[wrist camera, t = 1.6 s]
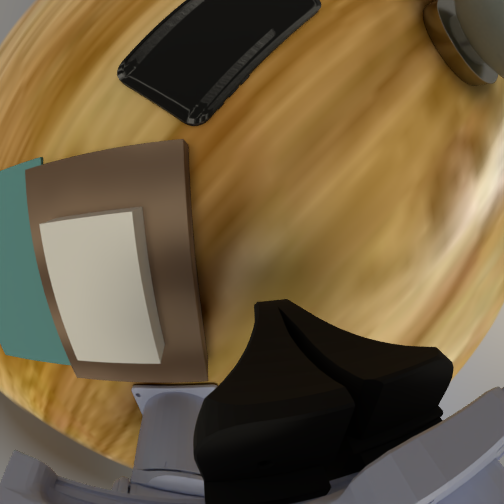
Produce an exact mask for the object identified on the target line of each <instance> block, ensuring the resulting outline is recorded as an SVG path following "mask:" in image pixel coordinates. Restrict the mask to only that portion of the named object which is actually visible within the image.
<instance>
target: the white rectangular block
mask: <svg viewBox="0 0 504 504" xmlns="http://www.w3.org/2000/svg"><path fill="white" fill-rule="evenodd" d="M39 225H40V232H41V238H42V244H43V249H44V254H45V259H46V264H47V268H48V272H49V276H50V280H51V284H52V288H53V292H54V295H55V299H56V302H57V305H58V309H59V312H60V315H61V318H62V321H63V324H64V327H65V329H66V332H67V335H68V338H69V340H70V343H71V345H72V348H73V350H74V353H75V355H76V358H77V360H80V361H92V362H108V363H137V364H161V359H162V355H163V350H164V346H165V344H164V340H163V335H162V331H161V326H160V322H159V317H158V312H157V307H156V302H155V296H154V291H153V285H152V279H151V273H150V267H149V260H148V253H147V245H146V237H145V229H144V219H143V209H142V207H134V208H125V209H116V210H108V211H100V212H93V213H86V214H79V215H72V216H65V217H59V218H55V219H52V220H49V221H47V222H44V223H41V224H39Z"/></svg>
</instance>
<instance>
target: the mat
mask: <svg viewBox="0 0 504 504" xmlns="http://www.w3.org/2000/svg"><path fill="white" fill-rule="evenodd" d="M40 165H43V157H40V158H36V159H33V160H30V161H27V162H24V163H21V164H18V165H15V166H13V167H10V168H7V169H4V170H2V171H0V344H1V346H2V348H3V350H4V352H5V354H6V355H10V356H15V357H20V358H25V359H31V360H37V361H43V362H50V363H57V364H65V365H71V364H70V361H69V359H68V357H67V355H66V352H65V350H64V347H63V345H62V342H61V340H60V337H59V335H58V332H57V329H56V327H55V324H54V321H53V318H52V315H51V312H50V309H49V306H48V303H47V299H46V296H45V293H44V289H43V285H42V282H41V278H40V274H39V270H38V265H37V261H36V256H35V251H34V246H33V241H32V235H31V229H30V222H29V214H28V206H27V195H26V181H25V170H26V169H30V168H33V167H36V166H40Z"/></svg>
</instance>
